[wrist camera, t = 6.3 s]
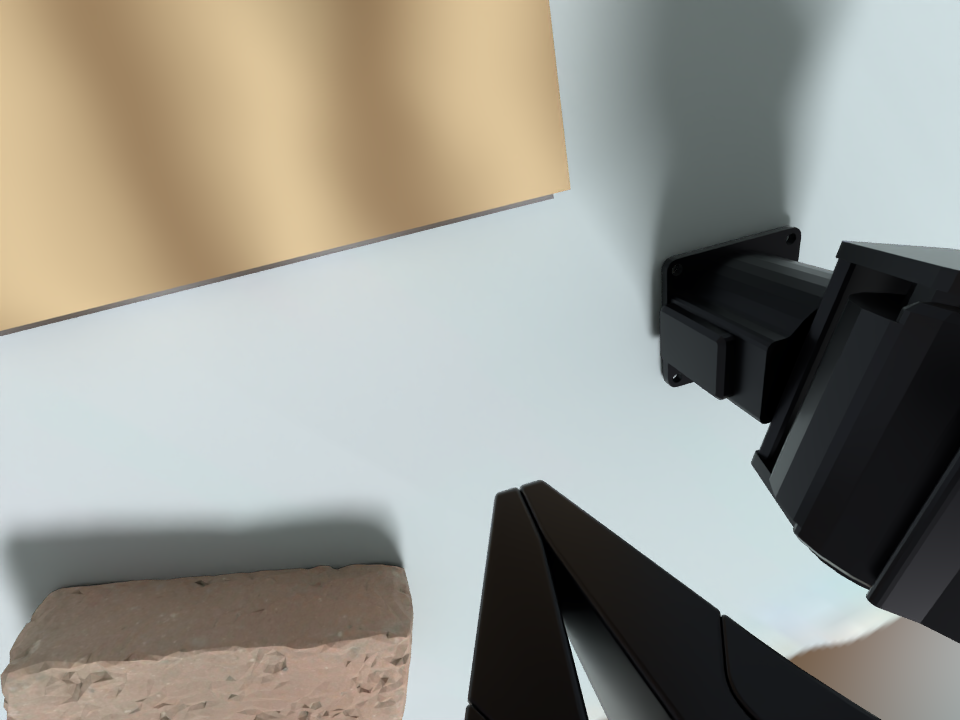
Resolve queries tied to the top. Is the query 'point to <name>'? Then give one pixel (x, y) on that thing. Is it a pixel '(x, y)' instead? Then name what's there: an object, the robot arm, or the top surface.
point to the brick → (219, 648)
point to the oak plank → (255, 134)
